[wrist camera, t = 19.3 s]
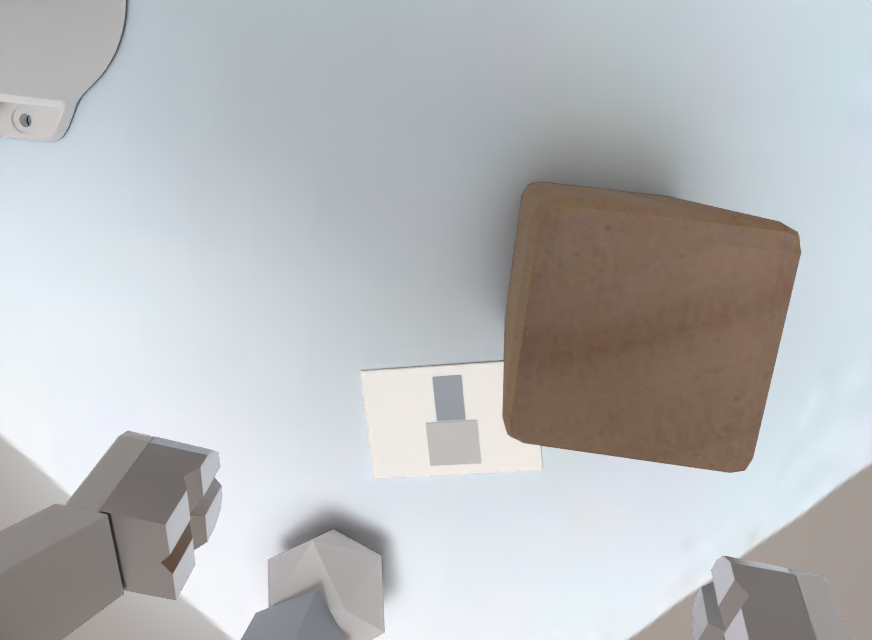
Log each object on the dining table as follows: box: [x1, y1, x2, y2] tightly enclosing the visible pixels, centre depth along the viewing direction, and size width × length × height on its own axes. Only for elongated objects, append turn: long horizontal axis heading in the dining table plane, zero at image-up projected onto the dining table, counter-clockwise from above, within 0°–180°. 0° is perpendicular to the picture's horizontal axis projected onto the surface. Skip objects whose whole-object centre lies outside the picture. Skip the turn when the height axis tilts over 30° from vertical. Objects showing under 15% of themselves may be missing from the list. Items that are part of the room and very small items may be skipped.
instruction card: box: [360, 361, 542, 479], centre depth 49 cm, size 12×8×1 cm, turn 96°
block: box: [502, 182, 801, 473], centre depth 36 cm, size 10×10×20 cm
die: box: [268, 529, 385, 640], centre depth 49 cm, size 8×9×10 cm
